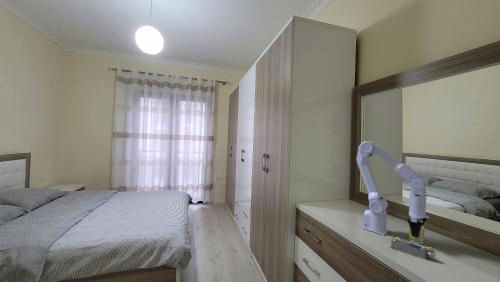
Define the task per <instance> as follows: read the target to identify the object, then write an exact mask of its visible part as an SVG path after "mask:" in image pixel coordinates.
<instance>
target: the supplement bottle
mask: <svg viewBox="0 0 500 282" xmlns="http://www.w3.org/2000/svg"><path fill="white" fill-rule="evenodd" d="M418 221H419V222H422V223H423V221H422V220H420V219H418ZM408 228H409V229H408V241H410V242H411V243H413V244H416V245H417V244H419V245H422V244H424V243H425V230H426V229H425V226H424V225H422V227H421V229H420V233H419V236H418V238H417V237H414V236H412V234H411V229H410V226H409V225H408Z"/></svg>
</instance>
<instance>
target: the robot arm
mask: <svg viewBox="0 0 500 282" xmlns="http://www.w3.org/2000/svg"><path fill="white" fill-rule="evenodd" d="M357 150H358V151H357V154H356V158H355V160H356V162H357V167H358V169H359V172H360V175H361V177H362V180H363V182H364V185H365V188H366V191H367V194H368V197H367V198H368V202H369V203H368V208H369V209H365V211H364V214H363V226H362V229H364V230H367V231H369V232H372V233H376V234H380V235H383V236H385V235H386V234H387V233H389V232H390V230H389V229H387V224H388V223H387V221H388V212H387V208H388V207H389V203H388V201H387V200H386V198H385V197H384V196H383V193H381V191H380V189H379V187H378V183H377V180H376V178H375V175H374V172H373V171H372V170H373V169H372V167H371V165H370V163H369V161H370V159H371V158H372V156H374V155H375V156H378V157H380V158H382V159H383V161H385V162H386V163H388V164H389V165H391V166H392V168H394V172H395V173H396V174H397V175H398V176H399V177H400V178H401V179H402V180H404V182H406V183H408V185H409V187H410V193H409V209H408V215H409V217H410V218H409V217H408V218H406V220H407V221H406V222H407V223H408V227H409V226H410V229H411V234H412V236H414V237H417V238H418V236H419V233H420V229H421V227H422V225H423V226H424V225H425V223H426V221H427V220H428V219H430V216H429V215H427V214H426V212H427V186H428V181H427V179H426V178H425V177H424V176H421V174H420V173H417V172H416V171H415V170H413V169H412V166H411V165H410V164H406V163H400V162H399V160H397V159H396V158H395V157H394V156H393V155H391V154H390V153H389V152H388V151H387V150H386V149H384V148H383V147H382V146H381V145H379V144H377V142H374V141H368V140H364V141H362V142H361V143H360V145H359V146H358V147H357ZM418 219H420V220H422V221H423V223H422V222H419V221H418Z"/></svg>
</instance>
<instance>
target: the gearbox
mask: <svg viewBox="0 0 500 282" xmlns="http://www.w3.org/2000/svg"><path fill="white" fill-rule="evenodd" d="M390 242H391V243H390V248H391V249H393V250H396V251H399V252H402V253H405V254H408V255H411V256H413V257H417V258H420V259H423V260H427V258H430V259H433V260H436V253H434V252H433V251H427V250H428V249H427V248H426V247H425V246H421V245H417V244H415V243H412V242H411V243H410V242H408V241H404V240H401V239H400V240H398V239H396V237H394V238H392V239H391V241H390Z"/></svg>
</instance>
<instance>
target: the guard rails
mask: <svg viewBox="0 0 500 282" xmlns="http://www.w3.org/2000/svg"><path fill="white" fill-rule="evenodd" d="M395 238H396V239H398V240H401V238H400V237H398V236H396V237H395ZM425 248H427V249H428V250H427V251H429V252H433V251H434V248H433V247H431V246H429V247H427V246H426V247H425Z"/></svg>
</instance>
